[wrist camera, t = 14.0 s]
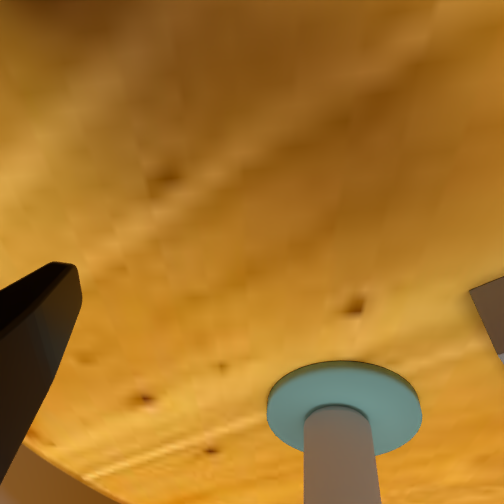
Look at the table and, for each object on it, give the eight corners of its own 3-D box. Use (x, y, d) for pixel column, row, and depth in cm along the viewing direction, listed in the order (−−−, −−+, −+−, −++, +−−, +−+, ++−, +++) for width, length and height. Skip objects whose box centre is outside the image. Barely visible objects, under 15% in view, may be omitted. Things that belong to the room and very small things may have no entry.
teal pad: (259, 435, 35) (258, 447, 35) (279, 350, 29) (279, 362, 28) (391, 455, 35) (393, 467, 35) (443, 374, 29) (447, 387, 28)
